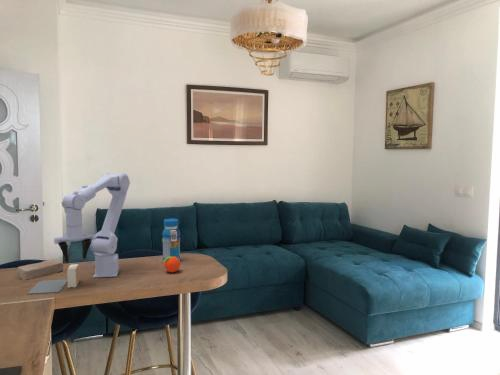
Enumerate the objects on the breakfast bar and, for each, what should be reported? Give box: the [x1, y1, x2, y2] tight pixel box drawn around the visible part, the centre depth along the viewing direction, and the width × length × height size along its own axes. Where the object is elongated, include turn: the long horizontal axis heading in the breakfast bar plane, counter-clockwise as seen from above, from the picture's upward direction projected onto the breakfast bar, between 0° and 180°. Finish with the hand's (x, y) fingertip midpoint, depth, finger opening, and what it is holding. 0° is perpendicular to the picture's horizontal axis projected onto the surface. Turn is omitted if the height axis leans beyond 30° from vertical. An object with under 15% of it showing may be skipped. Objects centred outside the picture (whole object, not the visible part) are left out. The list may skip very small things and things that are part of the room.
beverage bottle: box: [161, 218, 181, 262], centre depth 200 cm, size 8×8×20 cm
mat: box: [27, 279, 68, 295], centre depth 162 cm, size 11×15×1 cm
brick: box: [16, 259, 64, 281], centre depth 179 cm, size 17×8×5 cm, turn 141°
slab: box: [66, 263, 80, 289], centre depth 165 cm, size 3×8×7 cm, turn 15°
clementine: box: [162, 256, 181, 273], centre depth 182 cm, size 8×7×7 cm
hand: (75, 259), depth 163 cm, fingers open, 6 cm apart
